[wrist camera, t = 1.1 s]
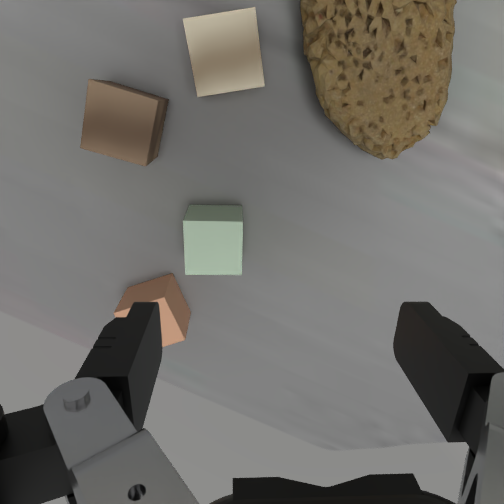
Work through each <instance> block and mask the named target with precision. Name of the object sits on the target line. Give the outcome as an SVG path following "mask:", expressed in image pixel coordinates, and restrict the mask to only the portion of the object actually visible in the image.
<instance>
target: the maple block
mask: <svg viewBox="0 0 504 504" xmlns="http://www.w3.org/2000/svg"><path fill="white" fill-rule="evenodd" d="M183 23H184V28H185V33H186V38H187V44H188V49H189V54H190V60H191V65H192V70H193V76H194V81H195V86H196V92H197V97H202V96H208V95H215V94H221V93H227V92H233V91H240V90H246V89H252V88H259V87H264V86H265V85H264V77H263V68H262V60H261V52H260V44H259V35H258V27H257V19H256V11H255V7H252V8H246V9H240V10H234V11H228V12H221V13H215V14H209V15H203V16H197V17H191V18H185V19H183Z"/></svg>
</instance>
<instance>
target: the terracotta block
mask: <svg viewBox="0 0 504 504" xmlns="http://www.w3.org/2000/svg"><path fill="white" fill-rule="evenodd" d="M134 302H158V304H159V309H160V321H161V334H162V347H164V346H167V345H171V344H174V343H177V342H180V341H184V340H185V338H186V333H187V328H188V323H189V318H190V314H191V312H190V310H189V308H188V305H187V303H186V301H185V299H184V297H183V295H182V293H181V290H180V288H179V286H178V284H177V282H176V280H175V278H174V275H173V273H171V274H168V275H165V276H162V277H159V278H156V279H153V280H150V281H147V282H143V283H140V284H137V285H134V286H131V287H128V288H127V290H126V292H125V293H124V295H123V297H122V299H121V301H120V302H119V304H118V306H117V308H116V310H115V312H114V315H115V317H126V316H127V314H128V312H129V310H130V308H131V306H132V304H133V303H134Z"/></svg>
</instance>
